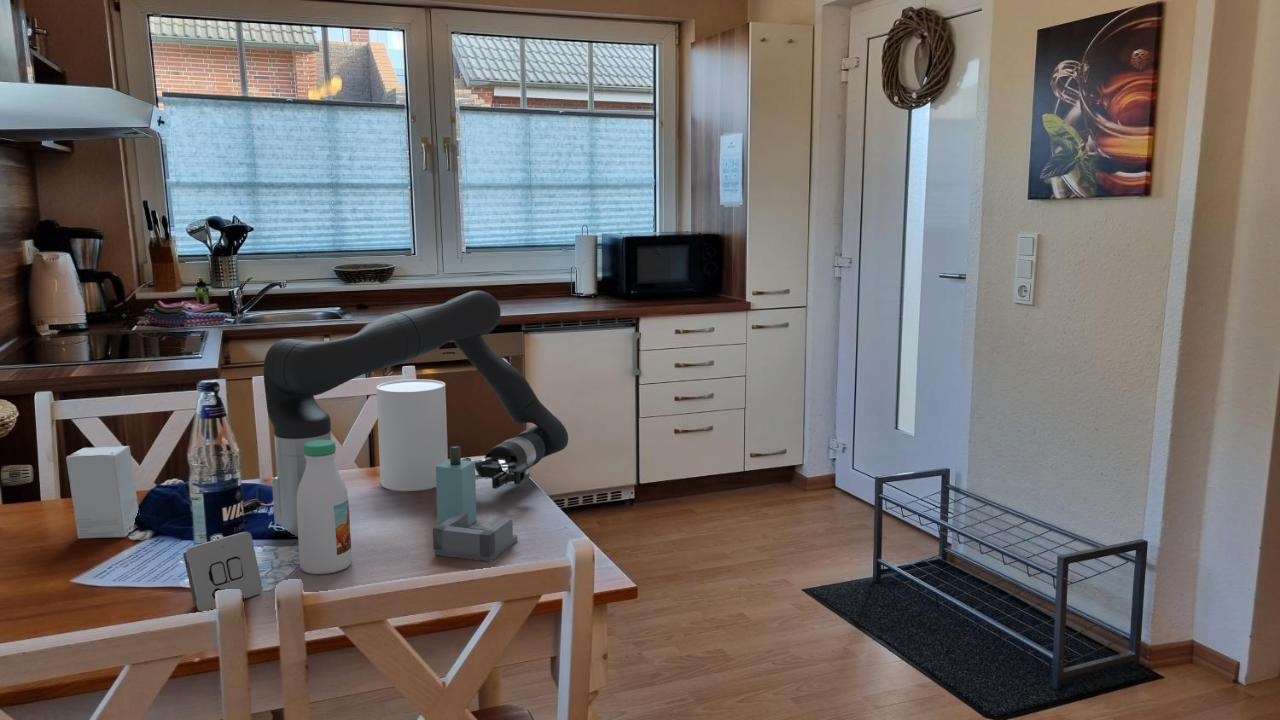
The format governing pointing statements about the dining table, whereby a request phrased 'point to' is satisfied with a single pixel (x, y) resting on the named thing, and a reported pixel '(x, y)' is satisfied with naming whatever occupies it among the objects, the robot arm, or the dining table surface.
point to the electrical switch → (222, 568)
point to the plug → (456, 487)
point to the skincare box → (103, 491)
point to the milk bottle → (323, 512)
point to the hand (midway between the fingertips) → (473, 481)
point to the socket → (472, 538)
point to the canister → (411, 433)
